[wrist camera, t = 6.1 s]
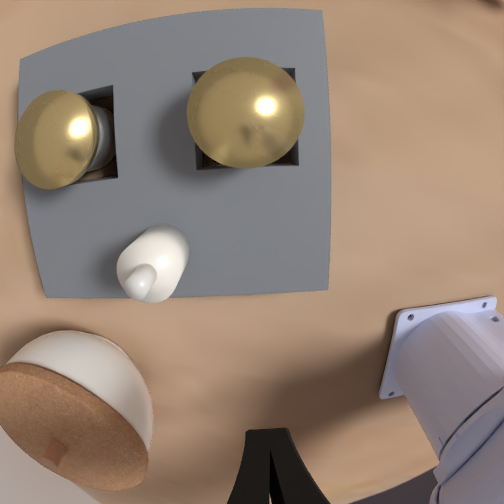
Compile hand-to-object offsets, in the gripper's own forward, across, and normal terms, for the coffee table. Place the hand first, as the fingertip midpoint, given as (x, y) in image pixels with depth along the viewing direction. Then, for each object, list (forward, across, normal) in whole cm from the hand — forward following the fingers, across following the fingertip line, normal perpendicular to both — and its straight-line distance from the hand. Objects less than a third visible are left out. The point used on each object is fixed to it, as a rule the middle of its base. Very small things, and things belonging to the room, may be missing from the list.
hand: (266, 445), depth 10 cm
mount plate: (+10, +4, -9) cm, 14 cm away
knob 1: (+10, +9, -10) cm, 17 cm away
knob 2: (+10, 0, -11) cm, 14 cm away
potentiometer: (+8, +4, -5) cm, 10 cm away
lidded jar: (+10, +11, +5) cm, 16 cm away
